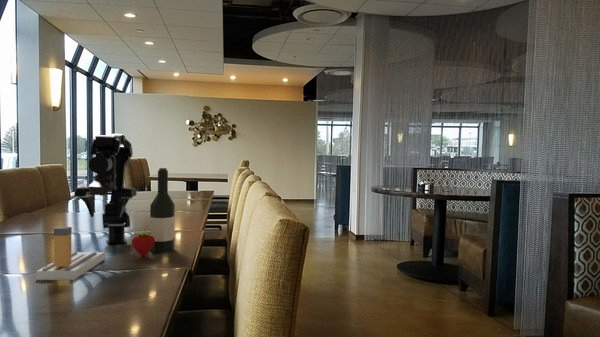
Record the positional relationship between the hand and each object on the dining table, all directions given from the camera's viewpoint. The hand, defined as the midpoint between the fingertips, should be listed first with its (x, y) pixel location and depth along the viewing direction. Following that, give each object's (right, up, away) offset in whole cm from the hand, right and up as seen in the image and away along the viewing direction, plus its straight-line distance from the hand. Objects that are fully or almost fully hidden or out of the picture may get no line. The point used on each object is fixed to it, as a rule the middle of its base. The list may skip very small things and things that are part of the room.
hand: (106, 216), depth 136 cm
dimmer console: (-2, -14, -17) cm, 22 cm away
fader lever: (-1, -11, -23) cm, 25 cm away
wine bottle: (+17, -13, +8) cm, 23 cm away
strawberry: (+14, -14, -2) cm, 19 cm away
